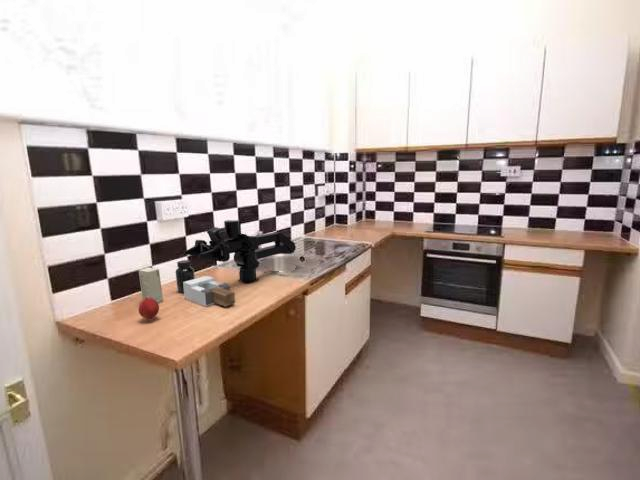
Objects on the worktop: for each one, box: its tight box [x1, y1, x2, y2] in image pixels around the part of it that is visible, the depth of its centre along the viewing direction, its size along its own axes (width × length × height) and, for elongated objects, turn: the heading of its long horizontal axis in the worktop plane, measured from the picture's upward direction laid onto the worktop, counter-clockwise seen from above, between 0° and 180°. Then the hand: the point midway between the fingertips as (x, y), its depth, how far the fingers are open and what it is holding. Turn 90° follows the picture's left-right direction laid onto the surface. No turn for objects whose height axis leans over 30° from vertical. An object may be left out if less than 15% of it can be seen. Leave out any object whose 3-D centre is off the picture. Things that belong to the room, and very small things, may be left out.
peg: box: [211, 287, 236, 308], centre depth 120 cm, size 4×10×4 cm, turn 52°
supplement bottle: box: [175, 259, 196, 294], centre depth 133 cm, size 7×7×12 cm
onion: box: [138, 296, 160, 321], centre depth 107 cm, size 6×6×8 cm
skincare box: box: [138, 266, 164, 304], centre depth 122 cm, size 6×4×12 cm
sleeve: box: [183, 275, 231, 307], centre depth 125 cm, size 10×14×6 cm
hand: (191, 254), depth 123 cm, fingers open, 9 cm apart
